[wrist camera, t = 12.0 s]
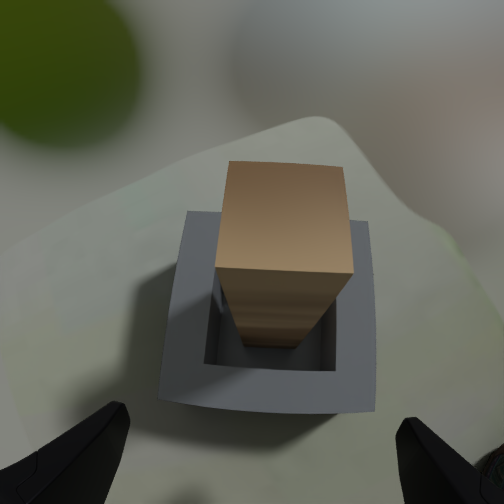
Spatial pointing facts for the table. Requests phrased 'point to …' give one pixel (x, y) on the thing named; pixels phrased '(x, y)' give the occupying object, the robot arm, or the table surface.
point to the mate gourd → (496, 468)
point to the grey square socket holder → (266, 359)
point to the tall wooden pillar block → (282, 248)
